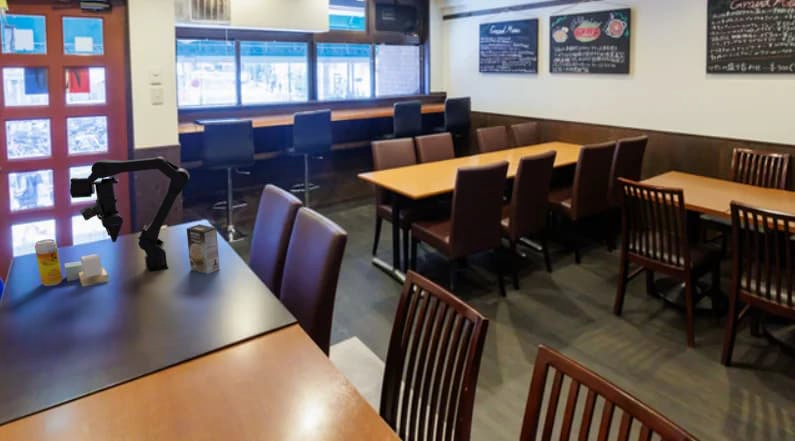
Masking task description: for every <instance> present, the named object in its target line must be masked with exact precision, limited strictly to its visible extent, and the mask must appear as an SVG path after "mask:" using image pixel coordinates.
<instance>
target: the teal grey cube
mask: <svg viewBox="0 0 795 441" xmlns="http://www.w3.org/2000/svg"><path fill="white" fill-rule="evenodd" d="M64 269H65V270H64V271H65V275H66V280H67V282H70V280H71V281H76V280H79V274H78V272H83V268H82V261H81V260H79V261H72V262H67V263H66V262H65V263H64ZM75 279H76V280H75Z"/></svg>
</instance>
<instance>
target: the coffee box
mask: <svg viewBox="0 0 795 441" xmlns="http://www.w3.org/2000/svg"><path fill="white" fill-rule="evenodd" d="M217 229H218V228H217V227H214V226H208V225H204V224H196V225H193V226H190V227H187V228H186V237H187V246H188V258H189V268H190V270H191V271H195V272H198V273H202V274H206V275H209V274H212V273H214V272H216V271H218V270H221V269H220V267H221V266H220V256H219V243H218V242H219V241H218V232H217V231H218V230H217Z"/></svg>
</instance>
